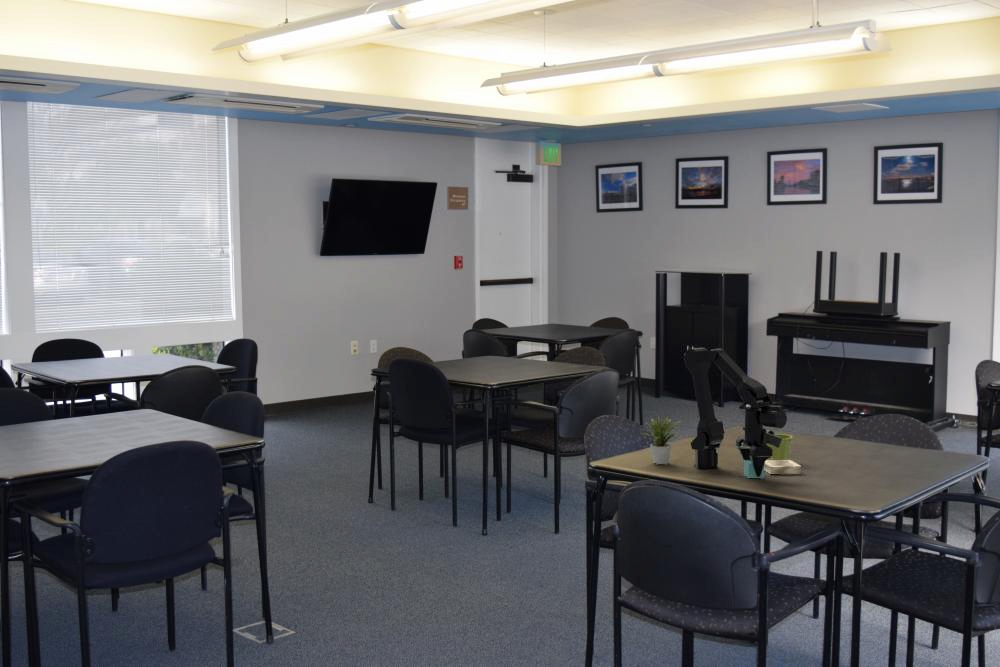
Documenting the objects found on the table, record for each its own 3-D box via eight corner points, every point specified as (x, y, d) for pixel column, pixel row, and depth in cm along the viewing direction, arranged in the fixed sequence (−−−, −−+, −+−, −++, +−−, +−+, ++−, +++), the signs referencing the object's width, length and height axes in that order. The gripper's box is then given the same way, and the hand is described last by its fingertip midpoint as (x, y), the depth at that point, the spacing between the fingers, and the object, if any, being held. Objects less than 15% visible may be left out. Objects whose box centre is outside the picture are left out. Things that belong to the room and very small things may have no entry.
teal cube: (748, 479, 314) (748, 463, 314) (743, 475, 319) (743, 460, 319) (764, 478, 315) (764, 462, 314) (759, 475, 319) (759, 459, 319)
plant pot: (767, 464, 334) (767, 439, 333) (760, 459, 344) (760, 434, 343) (795, 464, 334) (795, 438, 333) (788, 458, 343) (788, 433, 343)
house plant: (679, 469, 329) (679, 419, 328) (637, 467, 334) (637, 418, 332) (685, 460, 343) (685, 413, 341) (645, 458, 347) (645, 411, 346)
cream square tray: (770, 474, 319) (770, 466, 319) (760, 468, 329) (760, 460, 329) (801, 473, 320) (801, 465, 320) (790, 467, 330) (790, 459, 330)
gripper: (789, 428, 307) (789, 479, 308) (769, 418, 325) (769, 466, 327) (753, 429, 306) (753, 480, 307) (735, 419, 325) (735, 467, 326)
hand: (753, 473), depth 317 cm, fingers open, 9 cm apart
